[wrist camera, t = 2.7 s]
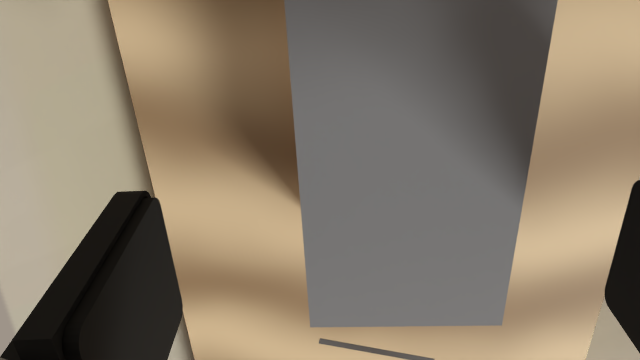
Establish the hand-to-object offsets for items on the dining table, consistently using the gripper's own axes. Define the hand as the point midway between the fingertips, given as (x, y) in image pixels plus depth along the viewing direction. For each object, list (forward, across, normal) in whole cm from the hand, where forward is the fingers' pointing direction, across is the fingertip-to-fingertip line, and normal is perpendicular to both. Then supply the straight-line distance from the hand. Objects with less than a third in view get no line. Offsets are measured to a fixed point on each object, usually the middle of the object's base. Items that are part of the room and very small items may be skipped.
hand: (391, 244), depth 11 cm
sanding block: (+6, -1, -1) cm, 7 cm away
